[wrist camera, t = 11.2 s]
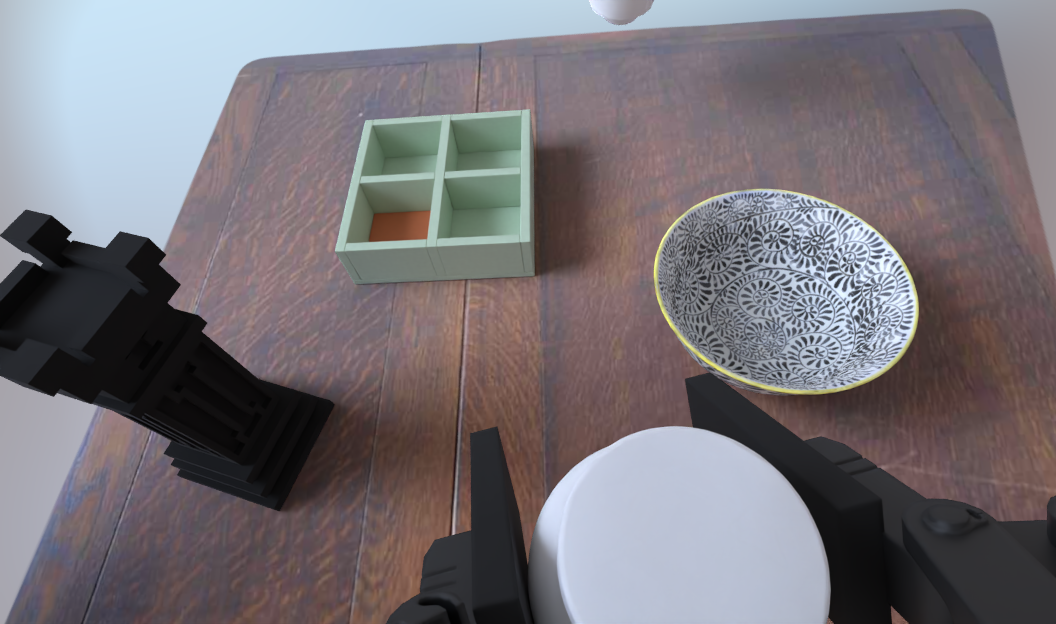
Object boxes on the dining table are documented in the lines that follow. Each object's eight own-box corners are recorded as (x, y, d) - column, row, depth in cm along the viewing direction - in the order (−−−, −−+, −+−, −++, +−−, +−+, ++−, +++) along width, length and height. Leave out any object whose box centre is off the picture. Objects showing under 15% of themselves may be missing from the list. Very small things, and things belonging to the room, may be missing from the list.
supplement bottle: (754, 567, 17) (929, 484, 8) (683, 760, 14) (825, 906, 6) (595, 476, 18) (611, 335, 10) (510, 636, 16) (440, 620, 8)
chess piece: (279, 511, 37) (27, 396, 20) (184, 478, 39) (-121, 347, 22) (334, 404, 41) (161, 232, 24) (245, 378, 43) (25, 201, 26)
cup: (617, 75, 59) (633, -171, 41) (665, 108, 55) (706, -145, 38) (564, 105, 57) (557, -139, 39) (611, 141, 53) (627, -108, 36)
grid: (354, 284, 47) (334, 251, 43) (380, 157, 55) (365, 119, 51) (534, 276, 46) (530, 241, 42) (533, 148, 54) (530, 109, 50)
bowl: (682, 227, 47) (698, 161, 41) (882, 289, 42) (936, 226, 36) (611, 382, 40) (617, 332, 34) (840, 477, 35) (897, 439, 29)
